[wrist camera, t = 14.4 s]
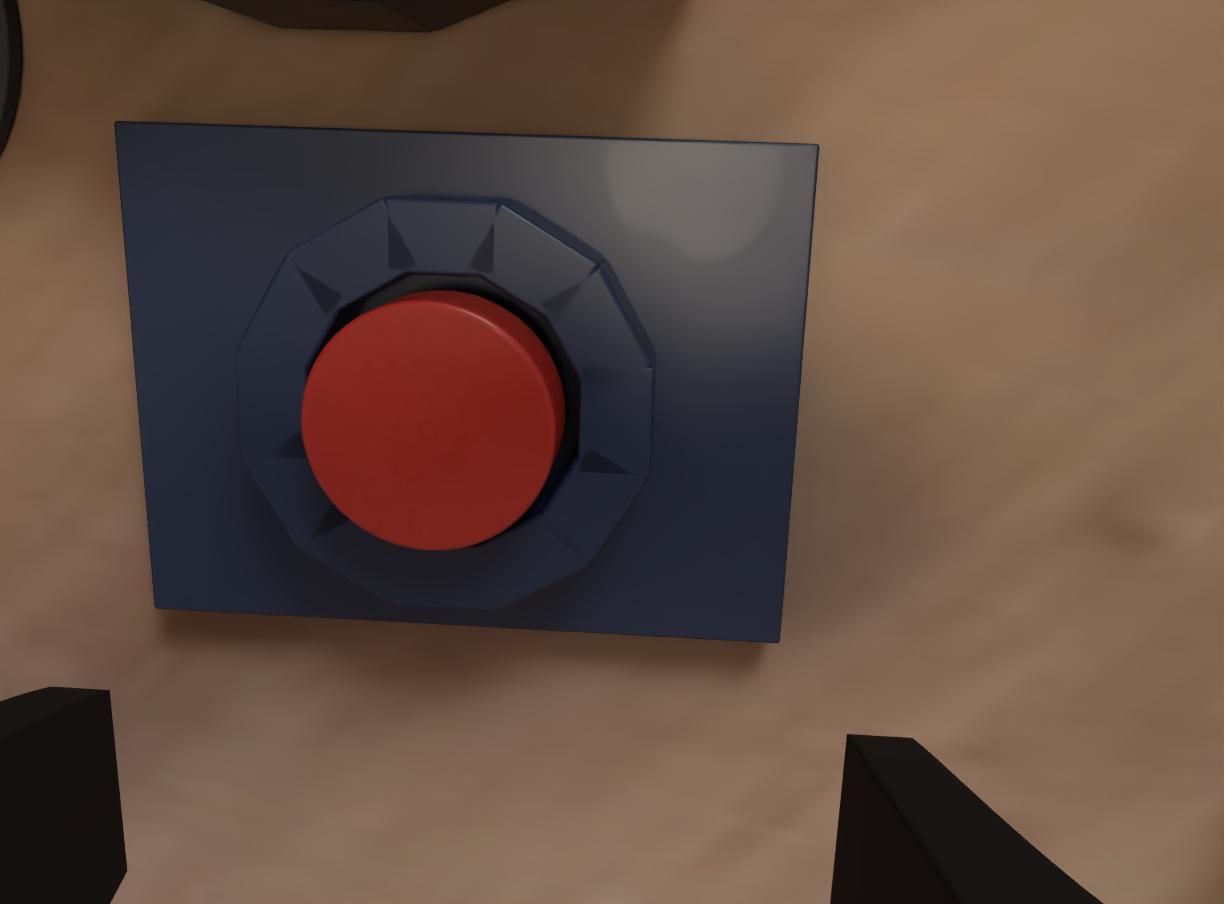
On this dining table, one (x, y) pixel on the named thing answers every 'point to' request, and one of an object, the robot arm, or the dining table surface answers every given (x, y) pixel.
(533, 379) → the release button
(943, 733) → the dining table surface
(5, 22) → the coaster
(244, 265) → the control block
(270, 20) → the cup holder
